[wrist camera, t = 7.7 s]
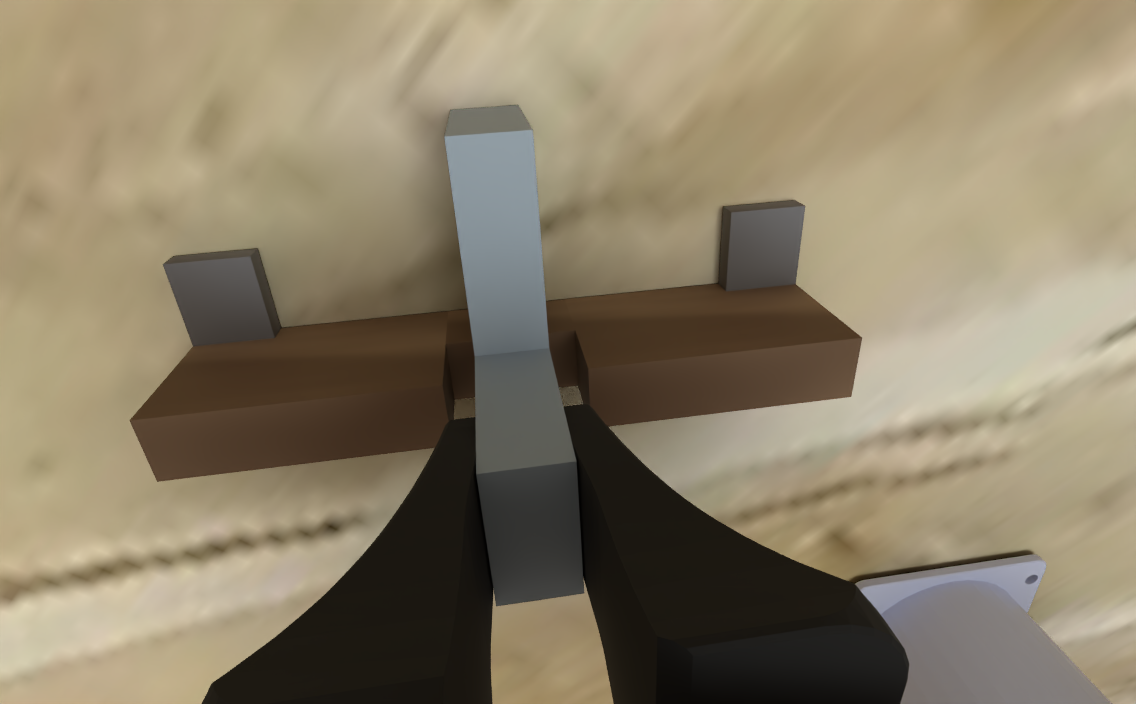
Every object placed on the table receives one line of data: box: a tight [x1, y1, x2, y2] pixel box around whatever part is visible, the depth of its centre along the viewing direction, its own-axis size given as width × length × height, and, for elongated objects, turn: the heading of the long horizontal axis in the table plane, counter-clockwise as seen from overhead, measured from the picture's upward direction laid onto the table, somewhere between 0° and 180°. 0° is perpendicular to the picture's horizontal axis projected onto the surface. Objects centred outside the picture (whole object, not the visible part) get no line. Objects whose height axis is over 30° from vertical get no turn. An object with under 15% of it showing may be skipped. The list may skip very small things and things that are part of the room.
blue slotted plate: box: [444, 105, 584, 606], centre depth 14 cm, size 12×2×8 cm, turn 3°
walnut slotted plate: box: [130, 200, 862, 482], centre depth 16 cm, size 6×16×4 cm, turn 94°
